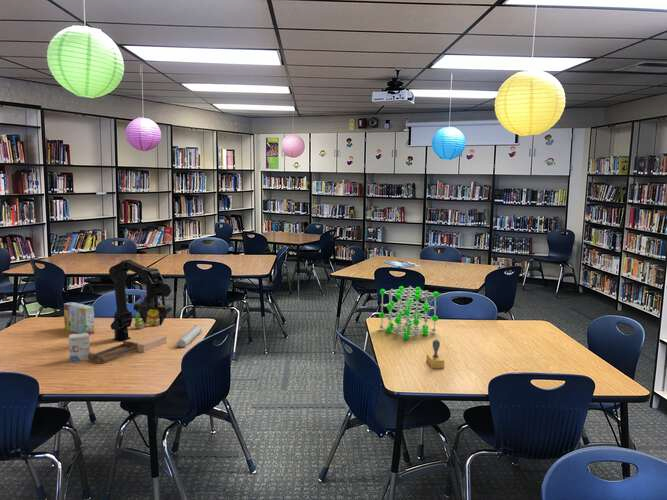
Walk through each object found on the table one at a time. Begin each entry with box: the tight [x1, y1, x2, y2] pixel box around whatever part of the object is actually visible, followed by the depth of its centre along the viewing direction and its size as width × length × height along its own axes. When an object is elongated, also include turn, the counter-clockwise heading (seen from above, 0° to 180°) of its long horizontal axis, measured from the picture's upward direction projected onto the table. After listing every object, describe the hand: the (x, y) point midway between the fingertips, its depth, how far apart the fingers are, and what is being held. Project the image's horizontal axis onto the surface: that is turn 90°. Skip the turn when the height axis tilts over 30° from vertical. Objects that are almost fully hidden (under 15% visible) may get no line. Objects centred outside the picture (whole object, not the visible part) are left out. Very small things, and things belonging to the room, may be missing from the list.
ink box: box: [68, 333, 91, 363], centre depth 242 cm, size 9×5×12 cm, turn 117°
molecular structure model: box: [378, 285, 440, 341], centre depth 293 cm, size 24×25×24 cm
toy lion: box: [134, 301, 164, 330], centre depth 297 cm, size 16×5×15 cm, turn 133°
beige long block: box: [137, 335, 167, 353], centre depth 261 cm, size 4×16×4 cm, turn 157°
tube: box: [177, 324, 203, 348], centre depth 273 cm, size 5×5×25 cm
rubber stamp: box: [426, 339, 445, 369], centre depth 241 cm, size 10×6×12 cm, turn 5°
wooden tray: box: [88, 340, 139, 365], centre depth 249 cm, size 9×22×3 cm, turn 156°
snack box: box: [63, 301, 95, 335], centre depth 286 cm, size 21×6×15 cm, turn 58°
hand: (152, 324), depth 260 cm, fingers open, 9 cm apart
